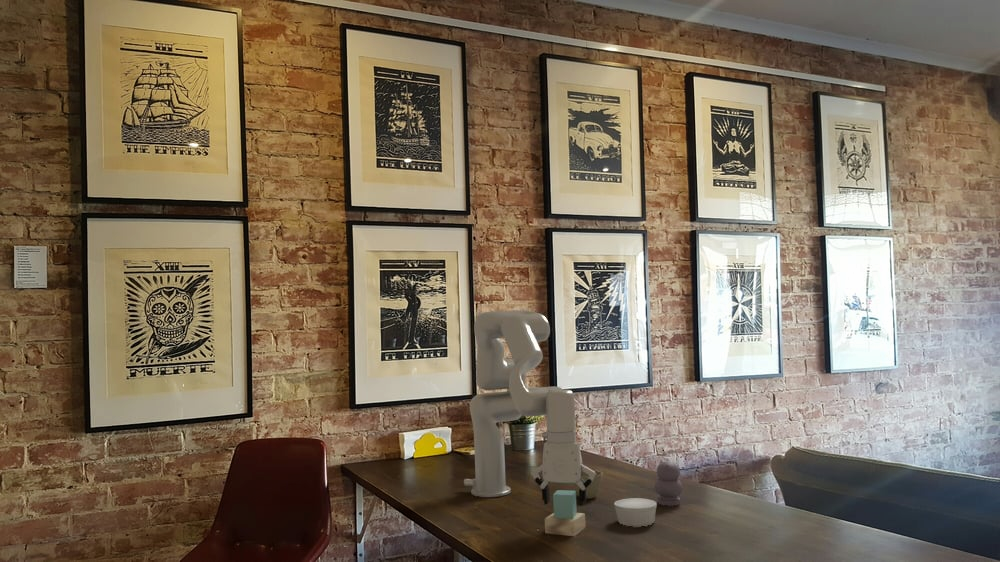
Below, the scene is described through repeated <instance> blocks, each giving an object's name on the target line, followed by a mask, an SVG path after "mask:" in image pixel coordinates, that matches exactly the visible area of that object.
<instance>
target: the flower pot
mask: <svg viewBox="0 0 1000 562" xmlns="http://www.w3.org/2000/svg"><path fill="white" fill-rule="evenodd" d="M592 470H593V469H592ZM593 471H595V472H596V475H595V477H594V479H593V481H592V482H591V484H590V485H589V486H588V487H587V488H586V500H587V499H595V497H596V496H597V495H598V492H599V490H600V488H601V485H602V481H603V475H604V474H603V472H602V471H600V470H593ZM588 477H589V475H588V474H586V473H585V472H583V477H582V479H583V480H584V481H585V482H586V481H587V479H588ZM571 484H572V487H573V491H576V496H577V497H579V490H580V487H579V486H578V485H577V483H571Z"/></svg>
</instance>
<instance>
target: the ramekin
mask: <svg viewBox="0 0 1000 562" xmlns="http://www.w3.org/2000/svg"><path fill="white" fill-rule="evenodd" d="M657 506H658V503H657V501H655V500H652V499H649V498H641V497H636V498H635V497H633V498H632V497H630V498H623V499H622V498H621V499H619V500H616V501H614V503H613V507H614V509H615V514H616V518H617V522H619V524H620V525H621V524H623V525H622V526H624V525H626V526H625V527H628V526H633V527H632V528H642V527H641V526H645V527H649V526H652V525H653V524H652V523H654V522H655V520H656V510H657ZM648 525H649V526H648Z"/></svg>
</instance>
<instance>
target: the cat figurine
mask: <svg viewBox="0 0 1000 562" xmlns="http://www.w3.org/2000/svg"><path fill="white" fill-rule="evenodd" d="M659 461H660V462H659V464H658V465H657V467H656V475H657V477H658V479H657V480H656V481H655V483H654V489H655V491H656V493H657V494H658V495H659V496H658V497H657V504H658V503H659V504H658V505H660V504H661V505H660V506H664V505H668V506H667V507H674V506H673V505H676V506H679V505H680V504H681V498H680V497H679V495H681V494H682V491H683V484H682V482H681V481H680V480H679V478H680V474H681V471H680V468H679V466H678V465H677V464H676V463H675V462H672V461H667V460H666V461H664V460H662V459H660V460H659ZM678 504H679V505H678ZM670 505H672V506H670Z"/></svg>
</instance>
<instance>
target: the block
mask: <svg viewBox="0 0 1000 562" xmlns="http://www.w3.org/2000/svg"><path fill="white" fill-rule="evenodd" d="M552 501H553V513H554V518H560V519H574V517H575V516H576V514H577V513H578V511H577V493H576V491H575V490H563V489H561V490H560V489H559V490H558V489H557V490H556V491H555V492H554V493H553V494H552Z"/></svg>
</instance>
